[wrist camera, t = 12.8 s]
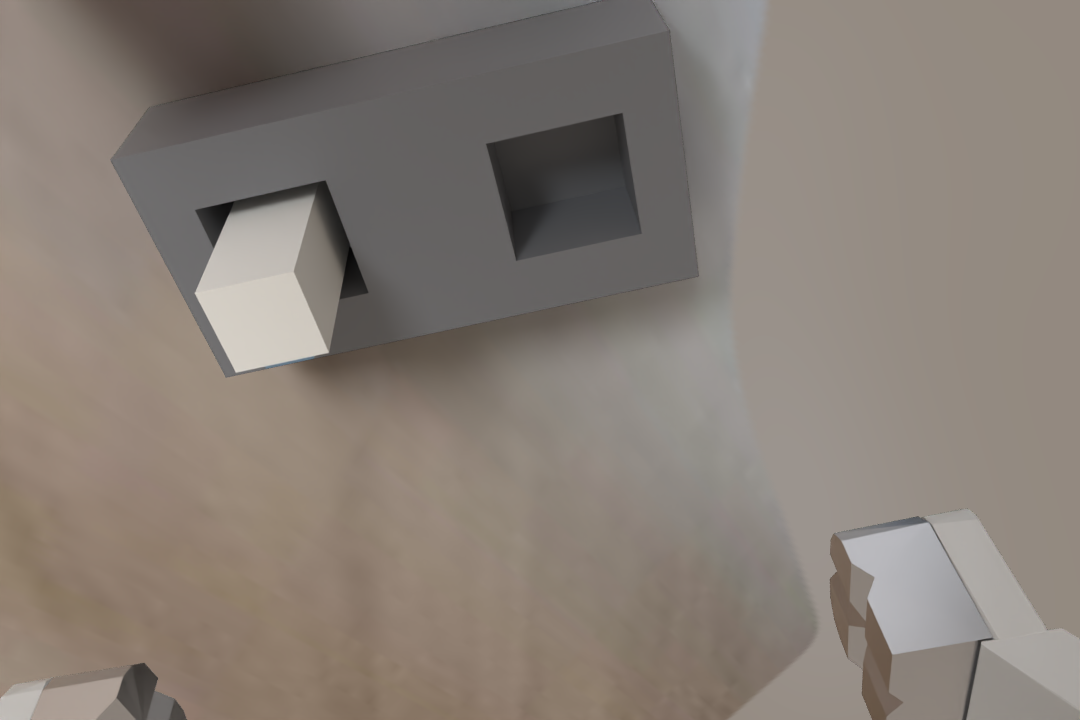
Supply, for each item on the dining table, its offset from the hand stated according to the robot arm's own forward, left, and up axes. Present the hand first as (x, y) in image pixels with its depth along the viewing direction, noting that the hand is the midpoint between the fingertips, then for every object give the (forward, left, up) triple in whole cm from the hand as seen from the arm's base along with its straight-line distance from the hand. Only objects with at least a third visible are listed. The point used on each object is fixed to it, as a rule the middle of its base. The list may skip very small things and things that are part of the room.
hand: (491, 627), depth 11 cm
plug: (+7, -9, -28) cm, 31 cm away
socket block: (+7, -3, -29) cm, 30 cm away
